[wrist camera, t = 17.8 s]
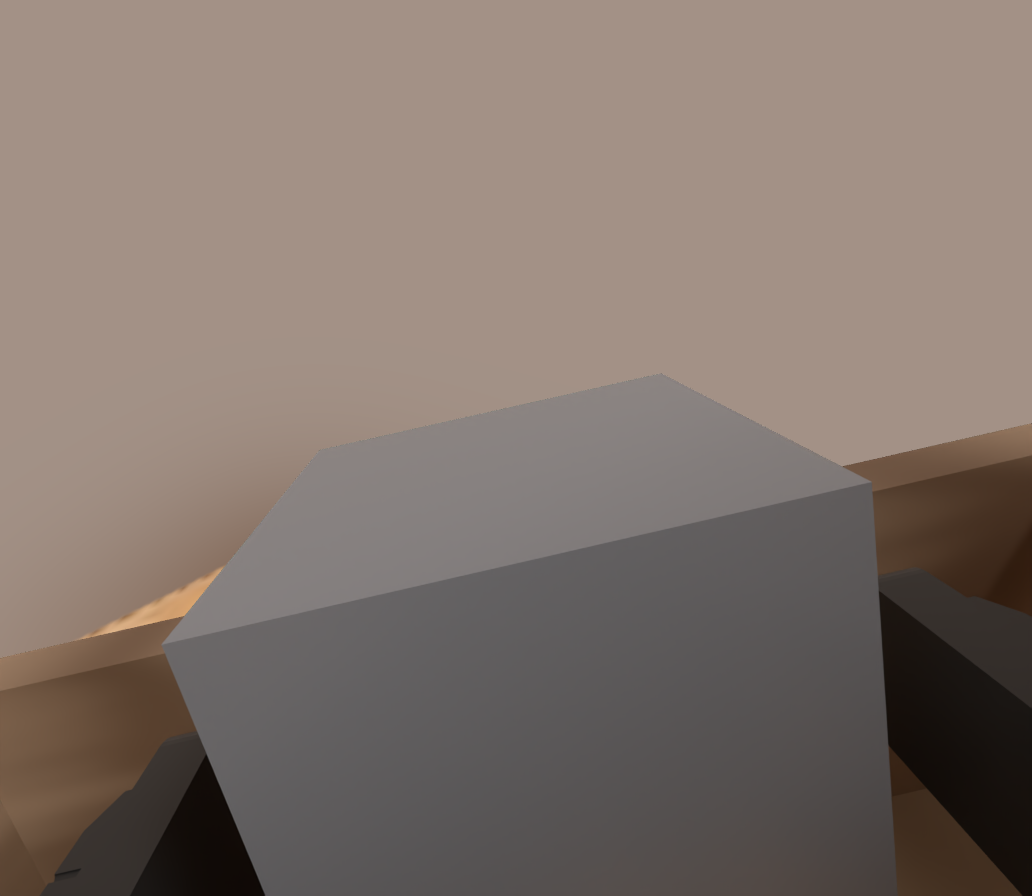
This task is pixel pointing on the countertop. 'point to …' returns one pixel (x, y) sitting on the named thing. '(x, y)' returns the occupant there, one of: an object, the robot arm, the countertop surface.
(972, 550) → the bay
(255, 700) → the grey and beige box
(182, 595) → the countertop surface
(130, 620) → the countertop surface
